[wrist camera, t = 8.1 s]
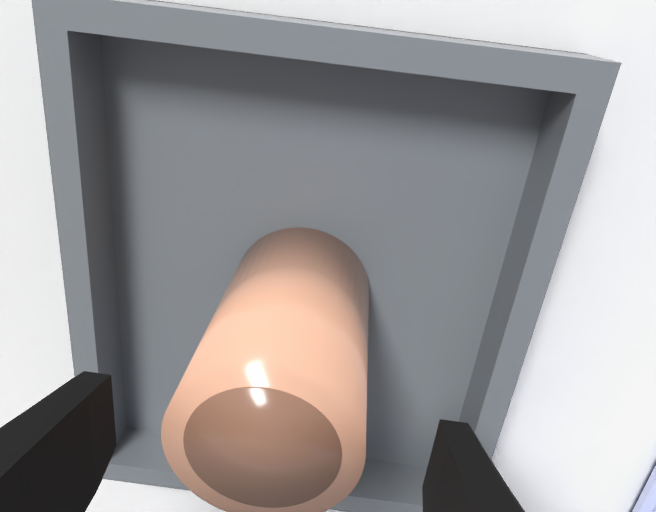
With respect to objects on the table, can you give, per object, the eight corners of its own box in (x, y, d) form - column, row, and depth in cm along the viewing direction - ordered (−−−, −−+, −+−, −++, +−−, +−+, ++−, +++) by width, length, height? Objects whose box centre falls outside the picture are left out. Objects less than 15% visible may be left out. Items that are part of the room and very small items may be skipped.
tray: (584, 53, 15) (621, 63, 13) (458, 475, 22) (468, 527, 20) (78, -10, 15) (30, -11, 13) (113, 429, 22) (86, 476, 20)
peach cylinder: (379, 238, 17) (382, 387, 11) (357, 353, 19) (348, 536, 13) (240, 217, 17) (159, 352, 11) (232, 334, 19) (160, 506, 13)
